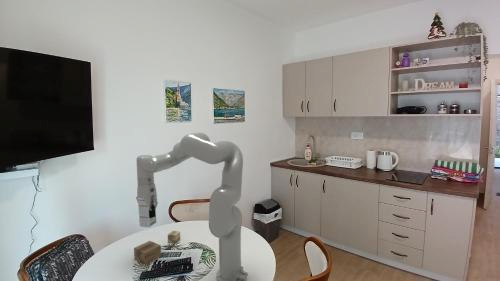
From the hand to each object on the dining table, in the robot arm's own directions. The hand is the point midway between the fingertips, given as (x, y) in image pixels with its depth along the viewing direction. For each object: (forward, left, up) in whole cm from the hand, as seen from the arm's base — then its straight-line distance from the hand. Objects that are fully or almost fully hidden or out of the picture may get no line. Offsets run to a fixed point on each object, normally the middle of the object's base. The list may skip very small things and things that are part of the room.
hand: (147, 215), depth 129 cm
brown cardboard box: (0, +1, -22) cm, 22 cm away
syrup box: (0, 0, -5) cm, 5 cm away
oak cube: (+3, -18, -22) cm, 29 cm away
